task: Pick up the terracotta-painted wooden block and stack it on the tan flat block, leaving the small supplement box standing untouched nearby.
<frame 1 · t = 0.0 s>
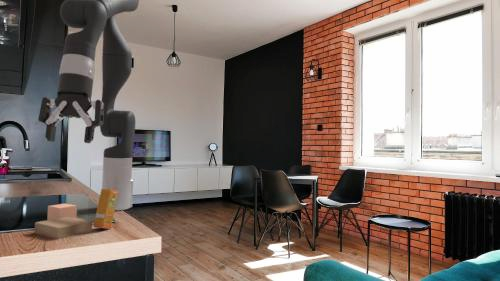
hand: (68, 142, 83), 22 cm above the counter, tool pointing down, fingers open, 8 cm apart
tan flat block: (63, 233, 87), on the counter
supplement box: (102, 228, 91), on the counter
terracotta block: (61, 224, 95), on the counter
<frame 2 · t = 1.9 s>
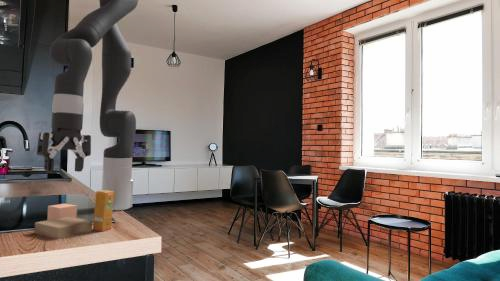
hand: (64, 172, 95), 14 cm above the counter, tool pointing down, fingers open, 8 cm apart
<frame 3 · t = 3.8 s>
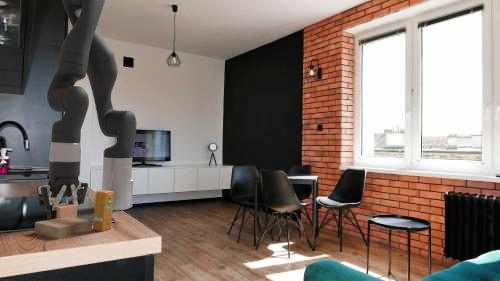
hand: (61, 222, 95), 0 cm above the counter, tool pointing down, fingers closed on terracotta block, 5 cm apart
terracotta block: (61, 223, 95), on the counter, touching gripper
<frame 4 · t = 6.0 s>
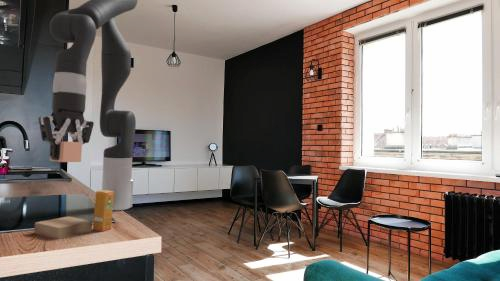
hand: (65, 159, 88), 18 cm above the counter, tool pointing down, fingers closed on terracotta block, 5 cm apart
terracotta block: (65, 161, 88), point 17 cm above the counter, touching gripper
when the fingers open (4 cm above the counter, at t = 8.7 s): terracotta block drops 1 cm, resting on tan flat block.
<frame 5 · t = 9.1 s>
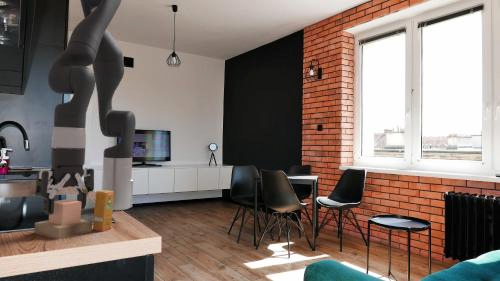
hand: (65, 211, 87), 5 cm above the counter, tool pointing down, fingers open, 8 cm apart
tan flat block: (63, 234, 87), on the counter, touching terracotta block
terracotta block: (64, 221, 87), point 2 cm above the counter, touching tan flat block
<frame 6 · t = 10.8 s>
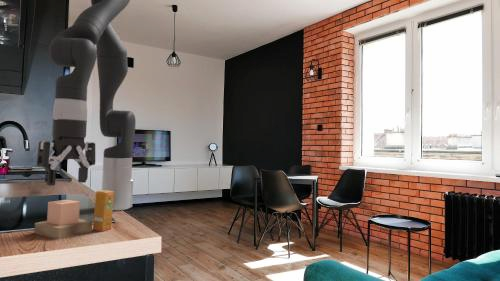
hand: (66, 183, 87), 12 cm above the counter, tool pointing down, fingers open, 8 cm apart
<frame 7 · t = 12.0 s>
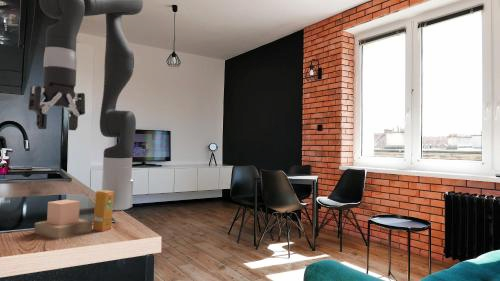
hand: (57, 129, 91), 25 cm above the counter, tool pointing down, fingers open, 8 cm apart
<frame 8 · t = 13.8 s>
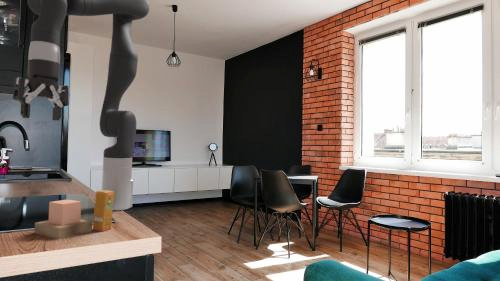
hand: (41, 119, 97), 28 cm above the counter, tool pointing down, fingers open, 8 cm apart
tan flat block: (63, 234, 87), on the counter
terracotta block: (64, 221, 87), point 3 cm above the counter
at the end: terracotta block inside the target area on the tan flat block (0.1 cm from its centre), point 3.0 cm above the tan flat block's base; terracotta block tilted 1°; the gripper is holding nothing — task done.
